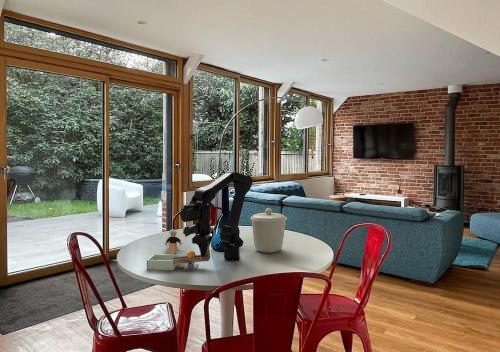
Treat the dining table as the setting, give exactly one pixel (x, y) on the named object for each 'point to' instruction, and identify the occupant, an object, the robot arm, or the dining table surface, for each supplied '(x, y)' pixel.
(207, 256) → the brown wooden ramp
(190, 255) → the ball
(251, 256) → the dining table surface
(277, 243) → the canister
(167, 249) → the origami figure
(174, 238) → the grandmother figurine
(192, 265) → the fulcrum
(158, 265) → the tray
